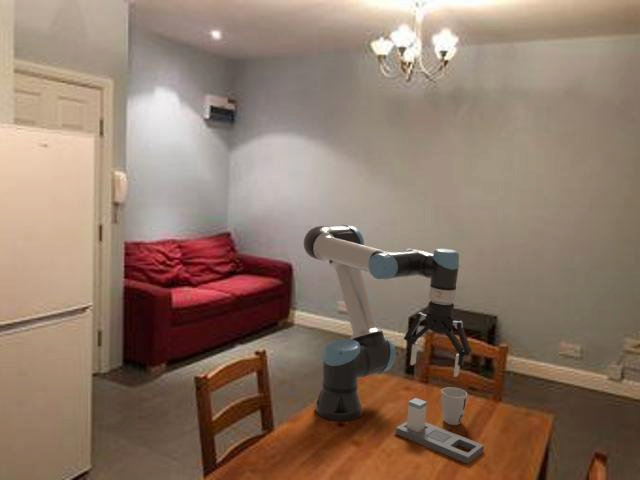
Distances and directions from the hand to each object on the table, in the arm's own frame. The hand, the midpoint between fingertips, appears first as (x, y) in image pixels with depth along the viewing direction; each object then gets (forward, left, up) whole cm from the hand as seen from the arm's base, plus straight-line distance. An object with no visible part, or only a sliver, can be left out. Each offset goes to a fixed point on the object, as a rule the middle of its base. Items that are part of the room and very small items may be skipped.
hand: (434, 369), depth 166 cm
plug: (-4, -2, -21) cm, 22 cm away
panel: (+4, -2, -21) cm, 22 cm away
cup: (0, +14, -21) cm, 26 cm away
